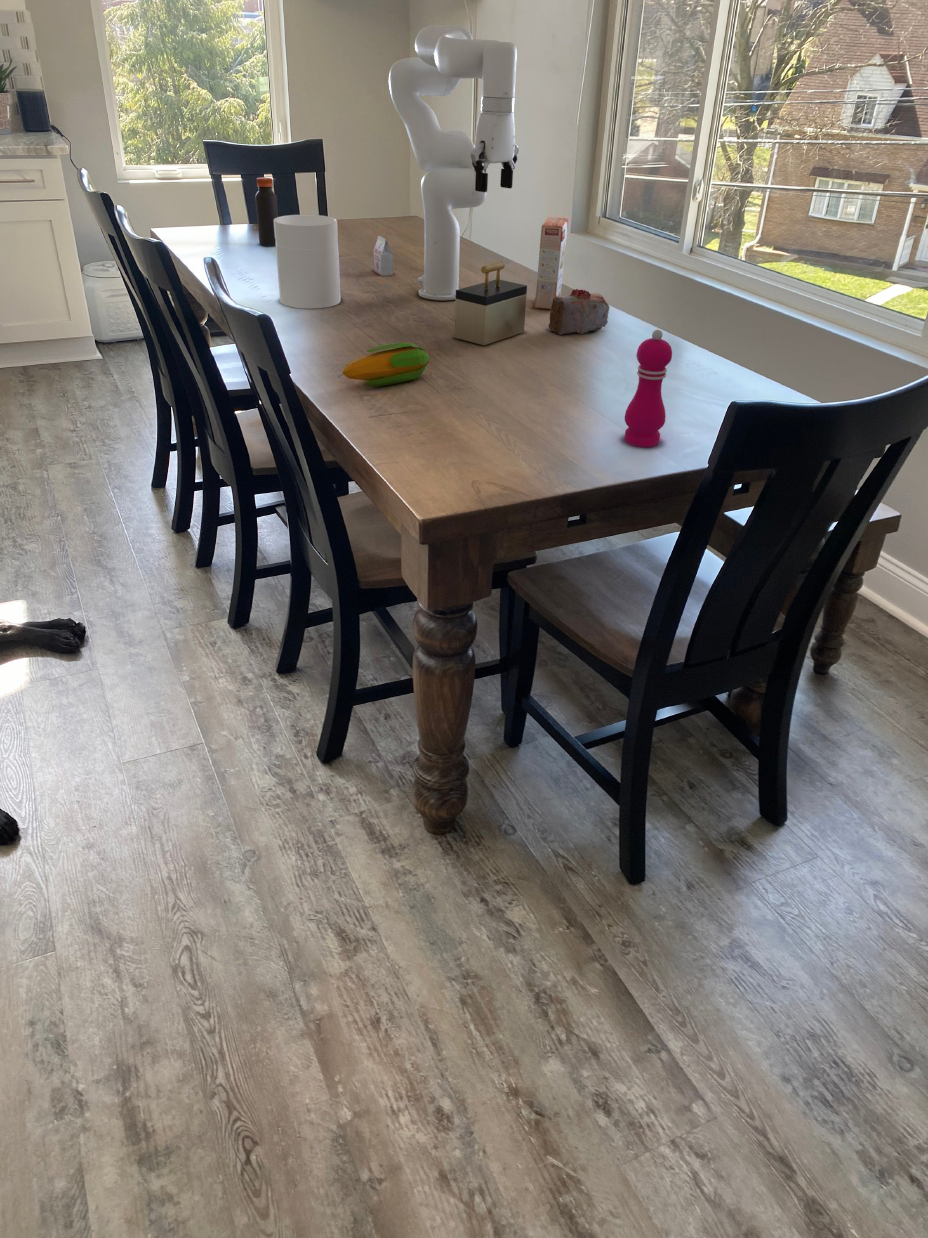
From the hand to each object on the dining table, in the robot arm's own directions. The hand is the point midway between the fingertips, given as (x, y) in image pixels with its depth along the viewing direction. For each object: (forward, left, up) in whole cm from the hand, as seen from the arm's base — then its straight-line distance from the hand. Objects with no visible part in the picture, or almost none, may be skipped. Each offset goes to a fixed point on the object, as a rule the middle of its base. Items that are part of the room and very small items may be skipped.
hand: (493, 189), depth 211 cm
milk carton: (-57, +9, -31) cm, 65 cm away
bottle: (-111, +2, -31) cm, 115 cm away
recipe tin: (+6, -10, -22) cm, 25 cm away
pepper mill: (+77, -32, -31) cm, 89 cm away
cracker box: (-3, +25, -31) cm, 40 cm away
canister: (-41, -27, -31) cm, 58 cm away
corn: (+24, -50, -31) cm, 63 cm away
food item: (+20, +12, -31) cm, 38 cm away
